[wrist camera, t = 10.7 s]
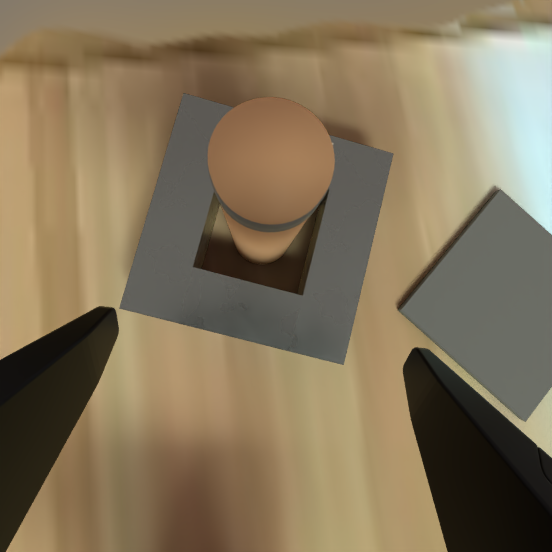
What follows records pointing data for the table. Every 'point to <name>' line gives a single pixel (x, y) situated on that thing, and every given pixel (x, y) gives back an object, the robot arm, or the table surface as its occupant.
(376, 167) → the flange plate
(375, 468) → the table surface
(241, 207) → the peg
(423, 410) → the robot arm
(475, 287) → the mat
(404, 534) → the table surface
